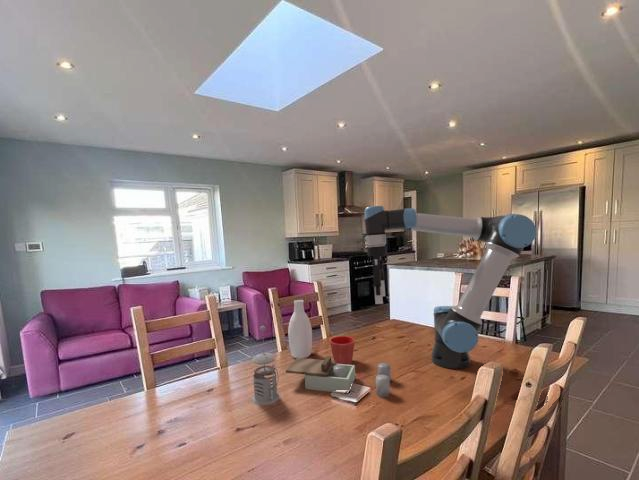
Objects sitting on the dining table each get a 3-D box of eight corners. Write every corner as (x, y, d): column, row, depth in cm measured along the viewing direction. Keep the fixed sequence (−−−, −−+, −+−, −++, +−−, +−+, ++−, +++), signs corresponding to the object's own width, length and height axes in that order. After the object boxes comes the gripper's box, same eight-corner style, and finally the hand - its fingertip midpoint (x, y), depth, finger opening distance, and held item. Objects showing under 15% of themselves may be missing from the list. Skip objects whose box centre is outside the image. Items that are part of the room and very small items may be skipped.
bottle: (317, 352, 148) (315, 299, 148) (304, 361, 139) (301, 304, 138) (298, 349, 154) (296, 297, 154) (284, 357, 145) (281, 302, 144)
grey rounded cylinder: (390, 391, 109) (389, 375, 109) (389, 397, 105) (388, 381, 105) (377, 389, 111) (376, 374, 111) (375, 396, 106) (374, 380, 106)
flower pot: (355, 356, 141) (354, 335, 141) (355, 367, 130) (354, 344, 130) (331, 357, 142) (330, 335, 142) (330, 367, 131) (329, 344, 131)
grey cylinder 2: (391, 378, 119) (390, 363, 119) (390, 383, 115) (389, 368, 115) (379, 377, 121) (378, 362, 120) (377, 382, 116) (377, 367, 116)
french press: (269, 387, 116) (266, 320, 116) (289, 398, 108) (285, 326, 107) (246, 398, 109) (242, 326, 109) (265, 410, 101) (261, 333, 100)
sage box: (355, 378, 120) (354, 365, 120) (348, 393, 109) (348, 379, 109) (315, 374, 125) (315, 361, 125) (305, 388, 114) (304, 375, 114)
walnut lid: (335, 362, 123) (335, 354, 123) (327, 376, 111) (327, 367, 111) (297, 359, 127) (297, 351, 127) (285, 372, 116) (285, 363, 116)
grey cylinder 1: (347, 381, 117) (347, 366, 117) (342, 386, 113) (342, 370, 113) (336, 378, 119) (336, 363, 119) (331, 383, 115) (330, 368, 115)
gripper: (370, 245, 136) (374, 293, 136) (362, 248, 112) (367, 307, 112) (388, 243, 134) (392, 293, 134) (384, 246, 110) (388, 307, 110)
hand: (380, 299), depth 123 cm, fingers open, 13 cm apart
